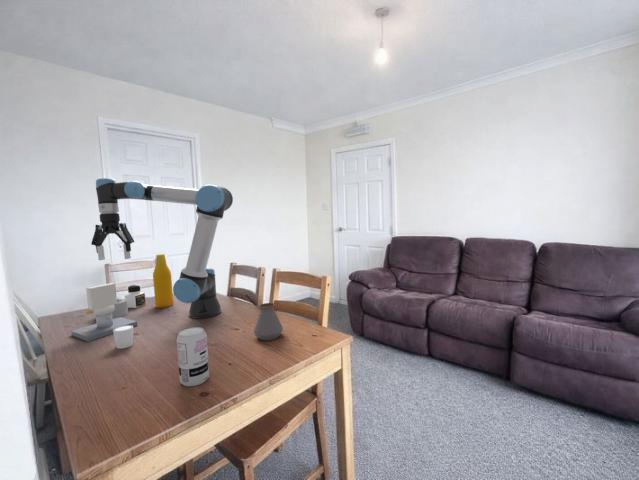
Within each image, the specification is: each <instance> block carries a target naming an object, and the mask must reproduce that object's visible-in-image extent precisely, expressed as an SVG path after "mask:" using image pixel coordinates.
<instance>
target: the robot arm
mask: <svg viewBox="0 0 639 480" xmlns="http://www.w3.org/2000/svg"><path fill="white" fill-rule="evenodd" d="M95 190H96V196H97V204H98V205H97V206H98V213H100V214H99V222H101V224H95V230H94V234H93V236H92V240H91V243H90V244H91V246H94V247H95V250H96V254H97V256H98V257H97V258H98V261H103V260H104V261H105V259H106V257H105V256H106V255H105V250H104V249H105V248H104V245H103V243H104V242H105V240H106V239H107V236H108V235H110V234H114V235H116V236H117V237H118V238H119V239H120V241H121V242H122V243H123V245H122V247H123V256H124V260H129V259H131V258H132V256H131V252H132V249H131V244H133V243H135V240H134V238H133V236H132V234H131V232H130V231H129V229H128V227H127V223H126V222H120V221H121V220H120V214H119V212H120V211H119V200H141V201H142V200H143V201H151V202H152V201H155V202H164V203H165V202H166V203H176V204H185V205H193V206H195V205H196V211H195V213H196V215H197V221H196V226H195V230H194V233H193V238H192V241H191V245H190V249H189V253H188V258H187V261H186V266H185V267H183V268H182V269H181V272H180V274H179V278H178V280H176V281H175V282H174V284H173V285H172V292H173V296H174V297H175V298H176V299H177V300H178V301H179V302H181V303H185V304H190V307H189V308H190V309H189V311H188V314H189V318H192V319H205V318H210V317H214V316H217V315H220V314H221V312H222V307H221V305H220V302H219V300H218V298H217V286H216V285H217V284H216V272H215V269H214V268H207V267H208V262H209V259H210V255H211V250H212V246H213V242H214V238H215V235H216V232H217V231H216V230H217V226H218V223H219V221H220V220H222V219H223V217H224V214H225V211H228V209H230V208H231V207H232V206H233V201H234V200H233V199H234V197H233V194H232V192H231V191H230V189H227V188H226V187H223V186H220V185H216V184H206V185H203V186H201V187H199V189H197V188H188V187H187V188H183V187H175V186H166V185H164V186H163V185H153V184H146V183H145V184H143V183H141V182H140V181H133V180H131V181H123V182H121V181H120V182H116V180H115V179H114V178H109V177H108V178H107V177H105V178H97V179H96V180H95Z"/></svg>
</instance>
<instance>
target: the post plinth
mask: <svg viewBox="0 0 639 480" xmlns="http://www.w3.org/2000/svg"><path fill="white" fill-rule="evenodd" d="M95 321H96V322H95V323H94V324H92V325H87V326H83V327H80V328H76V329H74V330H73V329H72V330H70V331H71V337H72V336H73V337H74V338H78V339H80V340H83V341H85V342H91V341H95V340H97V339H100V338H103V337H106V336H109V335H112V334H113V335H114V333H113V330H114V329H115V328H117V327H121V326H127V325H132V326H133V328H135V327H137V326H138V321H137V320H133V319H129V318H125V317H123V316H121V317H117V318H112V312H111V313H108V314H104V315H95Z"/></svg>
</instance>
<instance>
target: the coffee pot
mask: <svg viewBox="0 0 639 480" xmlns="http://www.w3.org/2000/svg"><path fill="white" fill-rule="evenodd" d="M243 299H248V301H250V303H251V304H253V305H254V306H255V307H256V308H257V309H259V311H260V313H259V315H258V318H257V321H256V324H255V326H254V330H253V333H254V335H255V336H256V337H257V338H259V340H261V341H273V340H276V339H278V338H279V336H281V334H282V332H283V330H284V327H283V325H282V322H280V319H279V318H278V316H277V313H276V311H275V307H276V304H275V303H274V302H265V303H261V304H258V303H257V302H256V301H255V300H254V299H253V298H252V297H251V296H249V295H248V294H245V295H244V297H243Z"/></svg>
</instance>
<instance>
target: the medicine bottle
mask: <svg viewBox="0 0 639 480" xmlns="http://www.w3.org/2000/svg"><path fill="white" fill-rule="evenodd" d="M141 289H142V288H141V285H140V284H132V285H129V286H128V287H127V292H128V294H126V295H124V299H126V300H127V305H128V309H138V308H140V307H143V306H145V305H146V293H145V292H141Z"/></svg>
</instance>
